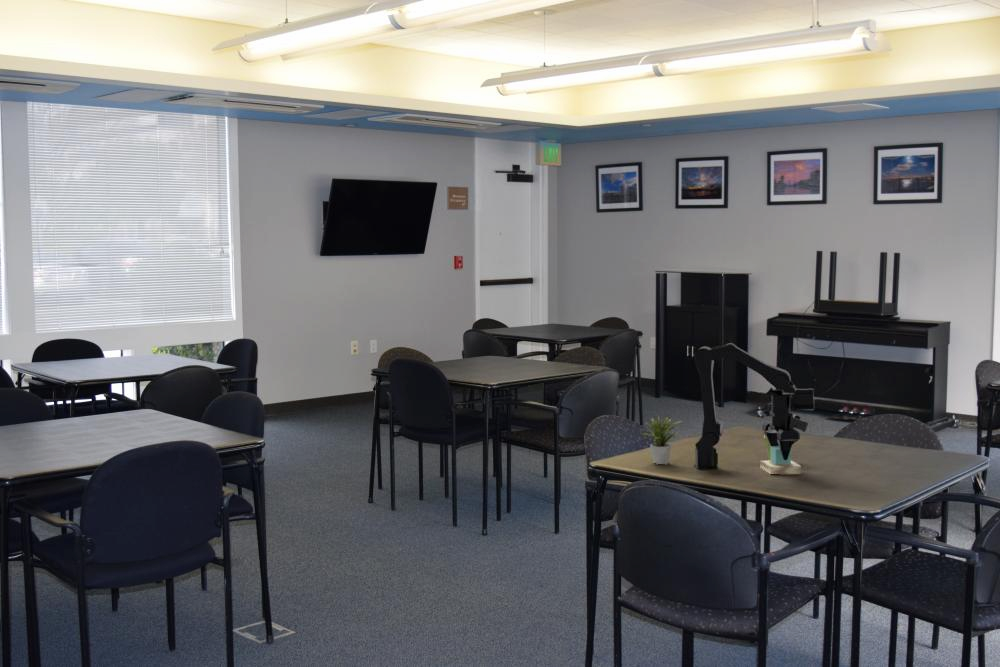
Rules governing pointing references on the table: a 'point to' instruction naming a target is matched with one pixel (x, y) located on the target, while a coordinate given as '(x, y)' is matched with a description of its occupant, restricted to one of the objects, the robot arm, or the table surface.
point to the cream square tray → (780, 468)
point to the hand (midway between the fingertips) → (780, 457)
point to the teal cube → (778, 456)
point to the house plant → (661, 440)
